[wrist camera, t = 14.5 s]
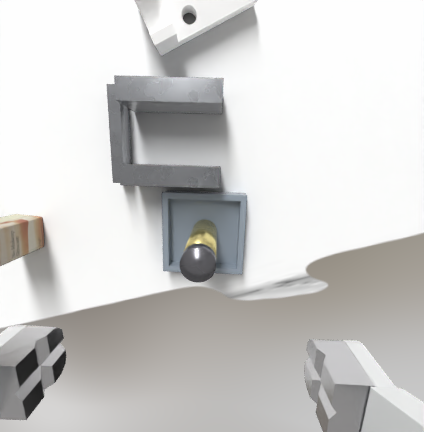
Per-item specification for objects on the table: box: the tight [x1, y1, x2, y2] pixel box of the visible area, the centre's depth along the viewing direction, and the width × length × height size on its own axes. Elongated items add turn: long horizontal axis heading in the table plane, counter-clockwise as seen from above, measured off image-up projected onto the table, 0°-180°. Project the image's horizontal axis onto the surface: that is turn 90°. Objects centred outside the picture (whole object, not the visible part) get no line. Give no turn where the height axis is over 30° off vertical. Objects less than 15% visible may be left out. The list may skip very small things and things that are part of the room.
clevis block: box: [107, 76, 223, 188], centre depth 30 cm, size 14×12×6 cm
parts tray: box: [162, 191, 247, 274], centre depth 34 cm, size 12×12×2 cm
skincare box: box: [0, 214, 44, 266], centre depth 31 cm, size 5×4×10 cm
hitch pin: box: [180, 219, 217, 282], centre depth 29 cm, size 4×4×12 cm
